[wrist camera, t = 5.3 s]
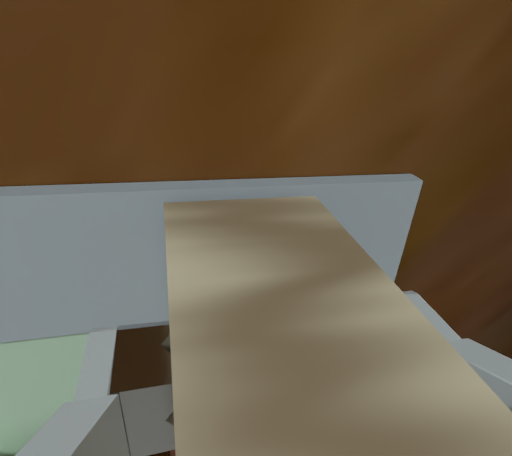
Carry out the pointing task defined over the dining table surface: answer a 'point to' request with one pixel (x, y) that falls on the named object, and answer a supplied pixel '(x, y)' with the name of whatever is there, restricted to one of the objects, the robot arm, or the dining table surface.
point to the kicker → (308, 344)
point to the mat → (36, 385)
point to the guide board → (152, 243)
